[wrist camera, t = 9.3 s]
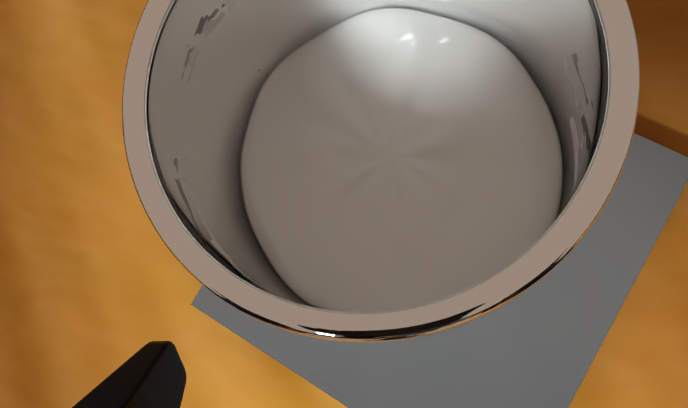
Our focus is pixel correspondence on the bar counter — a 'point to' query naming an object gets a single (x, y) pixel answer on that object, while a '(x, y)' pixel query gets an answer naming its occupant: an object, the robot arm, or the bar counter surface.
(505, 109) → the beer glass
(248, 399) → the bar counter surface
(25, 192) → the bar counter surface
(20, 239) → the bar counter surface
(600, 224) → the slate board
